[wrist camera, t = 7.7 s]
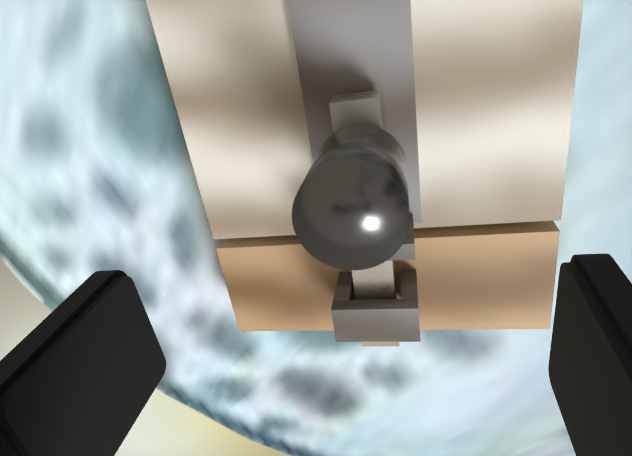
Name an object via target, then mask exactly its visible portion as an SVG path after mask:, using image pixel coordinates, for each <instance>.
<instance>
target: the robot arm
mask: <svg viewBox="0 0 632 456" xmlns="http://www.w3.org/2000/svg"><path fill="white" fill-rule="evenodd" d="M165 369H166V360H165V357H164V354H163V352H162V350H161V347H160V345H159V342H158V340H157V337H156V335H155V333H154V330H153V328H152V325H151V323H150V321H149V318H148V316H147V313H146V311H145V308H144V306H143V304H142V301H141V299H140V296H139V294H138V292H137V289H136V287H135V284H134V282H133V280H132V279H131V278H130V277H129V276H127V275H126V274H125V273H124V272H123V271H120V270H111V271H97V272H95V273H93V274H92V275H91V276H90V277H89V278H88V279H87V280H86V281H85V282H84V283H83V284H82V285H80V286H79V287H78V288H77V289H76V290H75V291H74V292H73V293H72V294H71V295H70V296H69V297H68V298H67V299H66V300H65V301H64V302H62V303H61V304H60V305H59V306H58V307H57V308H56V309H55V310H54V311H53V312H52V313H51V314H50V315H49V316H48V317H47V318H45V319H44V320H43V321H42V322H41V323H40V324H39V325H38V326H37V327H36V328H35V329H34V330H33V331H32V332H31V333H30V334H28V336H26V337H25V338H24V339H23V340H22V341H21V342H20V343H19V344H18V345H17V346H16V347H15V348H14V349H13V350H12V351H10V353H8V354H7V355H6V356H5V357H4V358H3V359H2V360H1V361H0V456H114V455H115V453H116V452H117V450H118V448H119V447H120V445H121V444H122V442H123V440H124V439H125V437H126V435H127V434H128V432H129V431H130V429H131V427H132V425H133V424H134V422H135V421H136V419H137V417H138V416H139V414H140V413H141V411H142V409H143V408H144V406H145V404H146V403H147V401H148V399H149V398H150V396H151V395H152V393H153V391H154V390H155V388H156V386H157V385H158V383H159V382H160V380H161V378H162V377H163V375H164V373H165ZM549 377H550V382H551V386H552V389H553V391H554V394H555V397H556V400H557V403H558V405H559V408H560V411H561V414H562V417H563V420H564V422H565V425H566V428H567V431H568V434H569V436H570V439H571V442H572V445H573V448H574V451H575V453H576V456H632V284H631V282H630V281H629V280H628V278H627V277H626V275H625V274H624V273H623V271H622V270H621V269H620V267H619V266H618V265H617V263H616V262H615V261H614V259H613V258H612V257H611V256H610V255H609V254H582V255H574V256H572V259H571V262H569V263H562V264H561V267H560V273H559V282H558V290H557V299H556V307H555V316H554V324H553V333H552V342H551V350H550V359H549Z"/></svg>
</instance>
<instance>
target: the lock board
mask: <svg viewBox="0 0 632 456" xmlns="http://www.w3.org/2000/svg"><path fill="white" fill-rule="evenodd" d="M146 4H147V7H148V11H149V14H150V18H151V22H152V25H153V29H154V32H155V36H156V39H157V43H158V46H159V50H160V53H161V57H162V60H163V64H164V67H165V71H166V74H167V78H168V81H169V85H170V88H171V92H172V95H173V99H174V102H175V106H176V109H177V113H178V116H179V120H180V123H181V127H182V131H183V134H184V138H185V141H186V145H187V148H188V152H189V155H190V159H191V162H192V166H193V169H194V173H195V176H196V180H197V183H198V187H199V190H200V194H201V197H202V201H203V204H204V208H205V211H206V215H207V218H208V222H209V225H210V229H211V232H212V236H213V239H223V240H222V241H221V243H220V244H219V245H218V247H217V248H216V250H217V254H218V257H219V261H220V264H221V268H222V271H223V275H224V278H225V282H226V285H227V289H228V292H229V296H230V299H231V303H232V306H233V310H234V313H235V317H236V320H237V324H238V327H239V331H307V330H334V332H335V338H336V342H411V341H420V330H435V329H550V322H551V312H552V303H553V293H554V283H555V273H556V263H557V254H558V244H559V234H560V231H559V229H558V228H557V226H556V225H555V223H554V222H553V221H554V220H561V214H562V204H563V195H564V185H565V175H566V165H567V155H568V146H569V136H570V126H571V116H572V106H573V97H574V87H575V77H576V67H577V57H578V48H579V38H580V28H581V18H582V8H583V0H146ZM373 90H380V101H381V113H382V125H383V130H385V131H387V132H388V133H390V134H391V135H392V136H393V137H394V138H395V139H396V140H397V141H398V142H399V143H400V145H401V147H402V148H403V150H404V153H405V155H406V159H407V165H408V191H409V229H408V233H407V236H406V239H405V241H404V243H403V245H402V246H401V248H400V249H399V250H398V251H397V252H396V254H395V255H393V256H392V257H391V258H390V259H389V260H387V261H390V260H394V267H395V279H396V290H397V299H369V300H356V299H355V292H354V284H353V277H352V270H343V269H338V268H334V267H331V266H328V265H326V264H324V263H322V262H320V261H319V260H317V259H316V258H314V257H313V256H312V255H311V254H309V253H308V252H307V251H306V249H305V248H304V247H303V246H302V244H301V243H300V242H299V240H298V238H297V236H296V234H295V231H294V228H293V224H292V206H293V202H294V199H295V196H296V194H297V192H298V190H299V188H300V186H301V184H302V183H303V181H304V179H305V177H306V175H307V173H308V171H309V169H310V167H311V165H312V163H313V161H314V159H315V158H316V156H317V154H318V152H319V150H320V148H321V146H322V145H323V143H324V142H325V140H326V139H327V138H328V137H329V136H330V135H332V134H333V128H332V121H331V113H330V106H329V102H330V101H331V99H332V98H333V96H334V95H340V94H348V93H356V92H365V91H373Z"/></svg>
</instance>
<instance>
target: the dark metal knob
mask: <svg viewBox="0 0 632 456" xmlns="http://www.w3.org/2000/svg"><path fill="white" fill-rule="evenodd" d="M329 106H330V113H331V121H332V128H333V134H332V135H330V136H329V137H328V138H327V139H326V140H325V142H324V143H323V145H322V146H321V148H320V150H319V152H318V154H317V156H316V158H315V159H314V161H313V163H312V165H311V167H310V169H309V171H308V173H307V175H306V177H305V179H304V181H303V183H302V184H301V186H300V188H299V190H298V192H297V194H296V196H295V199H294V202H293V206H292V224H293V228H294V231H295V234H296V236H297V238H298V240H299V242H300V243H301V244H302V246H303V247H304V248H305V249H306V251H307V252H308V253H309V254H311V255H312V256H313V257H314V258H316V259H317V260H319V261H320V262H322V263H324V264H326V265H328V266H331V267H334V268H338V269H343V270H352V277H353V284H354V292H355V299H356V300H369V299H397V290H396V279H395V267H394V260H390V261H387V260H389V259H390V258H391V257H392V256H393V255H395V254H396V252H397V251H398V250H399V249H400V248H401V246H402V245H403V243H404V241H405V239H406V236H407V233H408V229H409V191H408V165H407V159H406V155H405V153H404V150H403V148H402V147H401V145H400V143H399V142H398V141H397V140H396V139H395V138H394V137H393V136H392V135H391V134H390V133H388V132H387V131H385V130H383V125H382V113H381V101H380V90H373V91H365V92H356V93H348V94H340V95H334V96H333V98H332V99H331V101H330V102H329ZM361 344H362V346H399V342H361Z"/></svg>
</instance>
